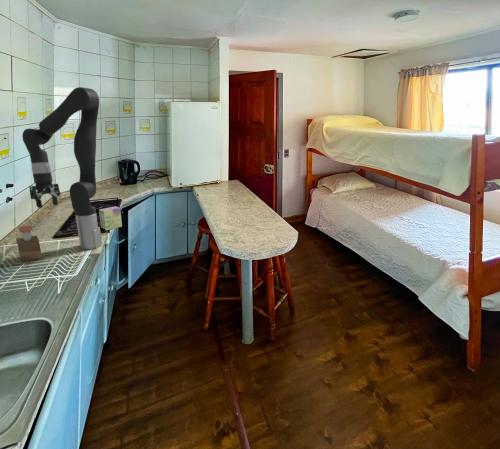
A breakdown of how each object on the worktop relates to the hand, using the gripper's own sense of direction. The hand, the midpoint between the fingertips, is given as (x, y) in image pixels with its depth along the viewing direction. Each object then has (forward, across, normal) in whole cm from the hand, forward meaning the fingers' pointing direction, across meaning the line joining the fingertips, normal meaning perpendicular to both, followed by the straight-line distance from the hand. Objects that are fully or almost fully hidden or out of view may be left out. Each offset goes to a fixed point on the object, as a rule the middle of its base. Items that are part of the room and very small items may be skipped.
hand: (48, 206), depth 162 cm
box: (+18, +37, -3) cm, 42 cm away
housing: (+22, -12, +2) cm, 25 cm away
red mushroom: (+17, -12, +1) cm, 21 cm away
